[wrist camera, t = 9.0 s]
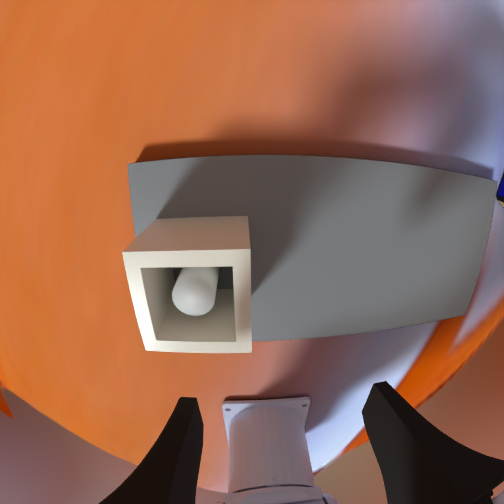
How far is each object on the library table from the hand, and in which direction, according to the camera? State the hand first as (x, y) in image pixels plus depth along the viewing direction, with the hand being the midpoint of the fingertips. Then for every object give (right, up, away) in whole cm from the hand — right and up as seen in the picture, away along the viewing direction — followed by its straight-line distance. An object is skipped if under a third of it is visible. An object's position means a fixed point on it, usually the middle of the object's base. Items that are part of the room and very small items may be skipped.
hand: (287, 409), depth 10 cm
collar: (-4, +6, +6) cm, 10 cm away
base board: (+5, +6, +8) cm, 11 cm away
